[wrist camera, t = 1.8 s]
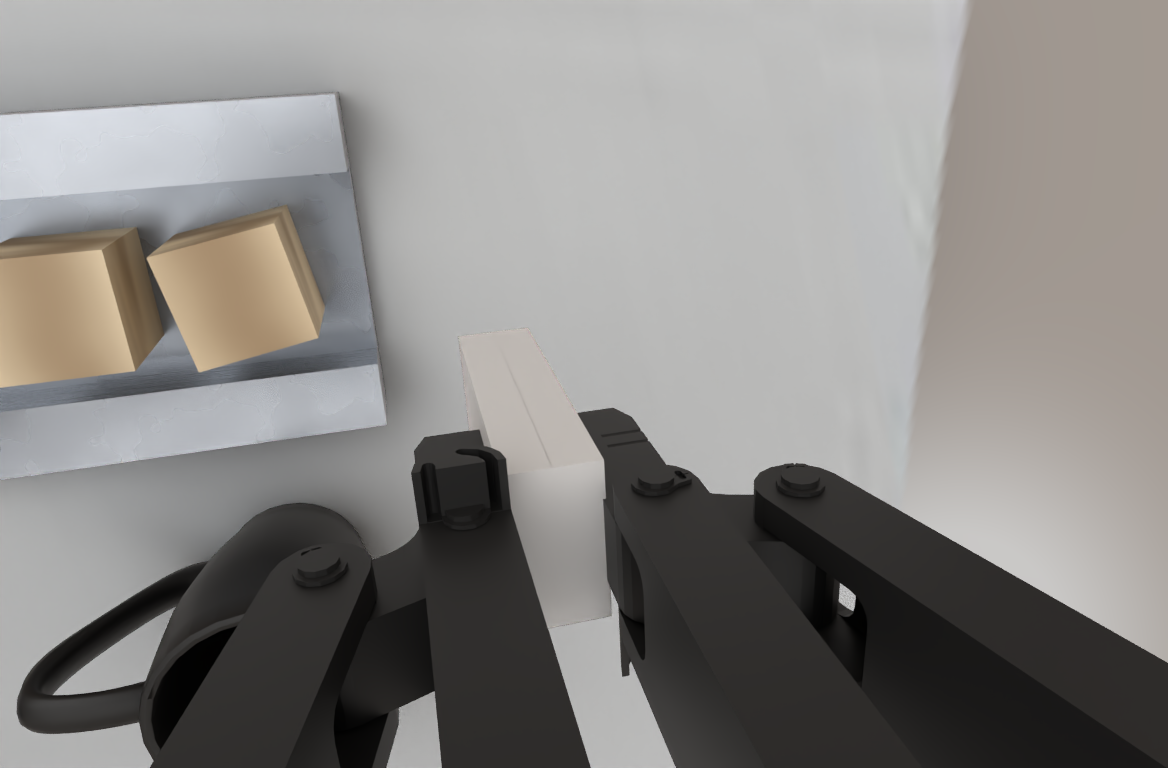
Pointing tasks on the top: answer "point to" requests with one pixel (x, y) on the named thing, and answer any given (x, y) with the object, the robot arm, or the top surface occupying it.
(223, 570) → the mug
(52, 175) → the slot rail
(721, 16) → the top surface
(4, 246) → the chip
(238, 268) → the chip
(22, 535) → the top surface
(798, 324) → the top surface
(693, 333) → the top surface
